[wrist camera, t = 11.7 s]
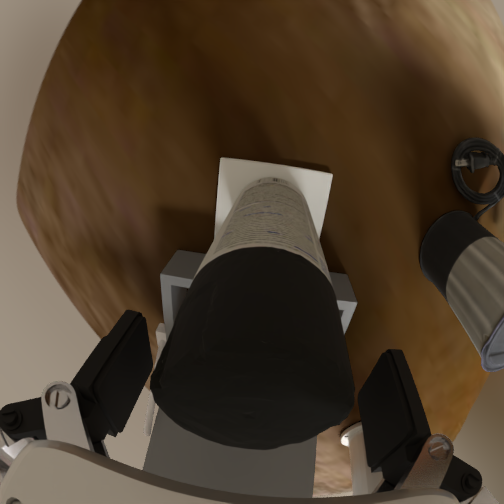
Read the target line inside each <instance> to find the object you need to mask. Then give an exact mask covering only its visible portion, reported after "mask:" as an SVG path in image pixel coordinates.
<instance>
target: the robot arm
mask: <svg viewBox="0 0 504 504" xmlns="http://www.w3.org/2000/svg"><path fill="white" fill-rule="evenodd" d="M152 368H153V359H152V354H151V348H150V342H149V336H148V330H147V323H146V318H145V317H143V316H142V313H140V312H136V311H132V310H126V311H125V313H124V314H123V315H122V316H121V318H120V319H119V320H118V322H117V323H116V325H115V326H114V327H113V329H112V330H111V331H110V333H109V334H108V335H107V336H105V337H103V338H102V339H101V341H100V342H99V343H98V345H97V346H96V348H95V349H94V350H93V352H92V353H91V354H90V356H89V357H88V359H87V360H86V361H85V363H84V365H83V366H82V367H81V369H80V370H79V372H78V373H77V374H76V376H75V377H74V379H73V380H72V382H71V383H70V384H68V383H66V382H63V381H55V382H52V383H50V384H49V385H47V386H46V387H45V388H44V390H43V392H42V396H41V397H39V398H35V399H30V400H26V401H21V402H16V403H11V404H8V405H5V406H4V407H3V408H2V409H1V410H0V504H499V503H498V502H497V500H496V499H495V498H494V497H493V496H492V494H491V493H490V492H489V491H488V490H487V488H486V487H485V486H484V487H481V486H482V477H481V474H480V472H479V471H478V470H477V469H475V468H473V467H472V466H470V465H468V464H467V463H465V462H464V461H462V460H460V459H459V458H457V457H456V456H454V455H453V453H454V447H453V444H452V441H451V440H450V439H449V438H448V437H447V436H445V435H443V434H434V435H431V432H430V428H429V425H428V421H427V418H426V415H425V412H424V409H423V406H422V403H421V400H420V397H419V394H418V391H417V388H416V385H415V383H414V380H413V377H412V374H411V372H410V369H409V366H408V364H407V361H406V359H405V356H404V354H403V352H402V350H396V349H388V350H387V351H386V352H385V353H382V355H381V356H380V358H379V360H378V362H377V364H376V365H375V367H374V369H373V370H372V372H371V374H370V376H369V377H368V379H367V380H366V382H365V384H364V385H363V387H362V389H361V390H360V392H359V394H358V405H359V410H360V417H361V422H359V423H356V424H354V425H352V426H350V427H349V428H347V429H346V430H345V431H344V432H343V433H342V434H341V436H340V439H341V443H342V444H343V445H345V446H349V453H350V463H351V476H352V490H353V496H343V497H329V498H328V497H327V498H286V497H269V496H257V495H248V494H240V493H233V492H226V491H220V490H215V489H210V488H205V487H200V486H195V485H191V484H187V483H183V482H179V481H175V480H172V479H168V478H165V477H161V476H158V475H155V474H152V473H149V472H146V471H143V470H140V469H137V468H134V467H131V466H128V465H126V464H123V463H120V462H118V461H115V460H113V459H110V457H109V455H108V452H107V449H106V446H105V444H104V441H103V440H104V439H105V437H106V435H107V434H109V435H111V436H114V437H116V436H117V433H118V432H119V433H121V432H122V431H123V429H124V427H125V425H126V423H127V420H128V419H129V417H130V414H131V412H132V410H133V408H134V406H135V404H136V402H137V400H138V397H139V395H140V393H141V391H142V389H143V387H144V385H145V383H146V381H147V379H148V377H149V375H150V373H151V371H152Z"/></svg>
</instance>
